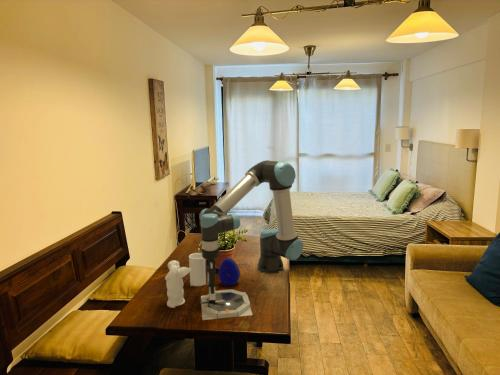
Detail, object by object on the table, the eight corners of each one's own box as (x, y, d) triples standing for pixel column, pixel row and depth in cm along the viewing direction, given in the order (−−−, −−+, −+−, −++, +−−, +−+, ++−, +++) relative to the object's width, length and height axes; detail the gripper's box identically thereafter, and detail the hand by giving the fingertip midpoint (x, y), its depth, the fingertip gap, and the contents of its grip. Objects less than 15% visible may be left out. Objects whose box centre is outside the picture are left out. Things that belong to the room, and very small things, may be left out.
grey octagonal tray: (245, 293, 182) (245, 287, 181) (252, 318, 160) (252, 311, 159) (199, 297, 178) (199, 291, 178) (200, 323, 156) (200, 316, 156)
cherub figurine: (170, 298, 179) (167, 255, 175) (195, 298, 178) (193, 255, 175) (163, 310, 167) (160, 265, 163) (190, 310, 166) (188, 265, 163)
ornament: (242, 283, 193) (241, 256, 190) (234, 290, 185) (233, 263, 182) (224, 279, 198) (223, 253, 195) (215, 286, 190) (214, 259, 187)
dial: (240, 295, 178) (239, 272, 176) (244, 312, 163) (244, 287, 160) (207, 298, 176) (206, 274, 173) (208, 315, 160) (207, 290, 158)
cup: (203, 288, 188) (201, 259, 185) (188, 287, 190) (186, 258, 187) (208, 281, 196) (206, 253, 193) (193, 280, 198) (192, 252, 195)
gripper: (201, 239, 174) (202, 281, 178) (202, 259, 150) (204, 306, 154) (216, 239, 176) (217, 280, 180) (220, 258, 151) (222, 305, 155)
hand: (211, 292), depth 167 cm, fingers open, 13 cm apart
